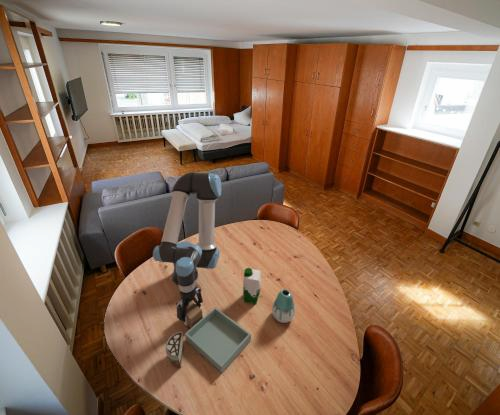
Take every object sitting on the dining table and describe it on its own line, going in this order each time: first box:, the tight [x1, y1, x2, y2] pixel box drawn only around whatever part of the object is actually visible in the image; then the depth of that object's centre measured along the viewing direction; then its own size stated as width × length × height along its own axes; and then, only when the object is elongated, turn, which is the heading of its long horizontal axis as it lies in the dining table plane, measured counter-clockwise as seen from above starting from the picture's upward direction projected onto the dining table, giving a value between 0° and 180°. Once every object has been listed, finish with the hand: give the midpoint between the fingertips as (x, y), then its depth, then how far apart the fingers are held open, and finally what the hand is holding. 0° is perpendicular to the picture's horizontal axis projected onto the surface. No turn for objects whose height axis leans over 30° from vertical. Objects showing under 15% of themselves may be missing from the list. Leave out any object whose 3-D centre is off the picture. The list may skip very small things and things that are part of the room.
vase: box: [271, 288, 296, 324], centre depth 134 cm, size 12×12×18 cm
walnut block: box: [186, 300, 204, 329], centre depth 133 cm, size 9×7×8 cm
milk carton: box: [242, 267, 262, 305], centre depth 143 cm, size 9×9×20 cm
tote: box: [184, 307, 252, 374], centre depth 125 cm, size 24×20×5 cm
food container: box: [165, 331, 185, 369], centre depth 116 cm, size 12×6×10 cm, turn 5°
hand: (191, 319), depth 135 cm, fingers closed on walnut block, 7 cm apart
